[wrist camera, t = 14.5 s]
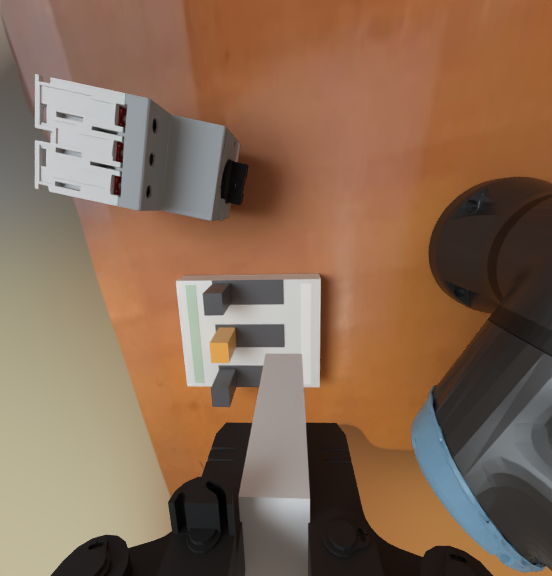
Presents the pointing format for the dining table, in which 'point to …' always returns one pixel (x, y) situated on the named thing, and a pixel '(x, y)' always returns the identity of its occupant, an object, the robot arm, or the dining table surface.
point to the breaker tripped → (223, 345)
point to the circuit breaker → (134, 153)
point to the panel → (252, 324)
